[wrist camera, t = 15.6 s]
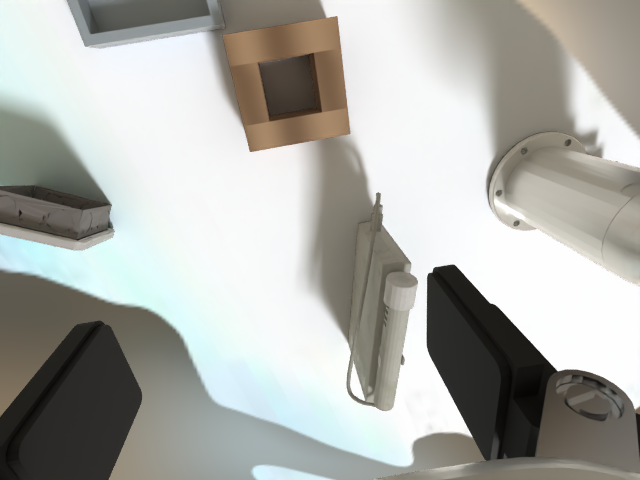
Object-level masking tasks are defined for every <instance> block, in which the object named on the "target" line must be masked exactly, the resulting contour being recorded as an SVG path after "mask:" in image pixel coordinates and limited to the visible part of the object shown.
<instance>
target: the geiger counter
mask: <svg viewBox="0 0 640 480" xmlns="http://www.w3.org/2000/svg"><path fill="white" fill-rule="evenodd" d="M380 198H381V194H380V193H376V203H375V205H374V208H373V213H372V217H371V221H368V222H363V223H358V230H357V242H356V254H355V266H354V278H353V291H352V303H351V315H350V327H349V339H348V344H349V347H350V351H351V356H350V361H349V367H348V373H347V390H348V393H349V395H350V397H351V398H352V399H354V400H355V401H357V402H358V403H361V404H363V405H368V406H373V407H376V408H378V409H380V410H382V411H389V410H391V409H392V408H393V406H394V400H395V394H396V388H397V382H398V376H399V370H400V364H401V365H404V361H405V359H404V357H403V354H402V352H403V346H404V341H405V335H406V329H407V323H408V317H409V311H410V309H412V308H413V306H414V301H415V296H416V290H417V284H418V281H417V278H416V277H414V276H413V275H411V274H410V269H411V262H410V261H409V260H408V258H407V257H406V256H405V254H404V253H403V252H402V250H401V249H400V248H399V246H398V245H397V244H396V242H395V241H394V240H393V238H392V237H391V236H390V234H389V233H388V232H387V230H386V229H385V228H384V226H383V225H382V218H383V214H382V207H383V206H382V205H380ZM353 361H354V364H355V367H356V371H357V374H358V377H359V381H360V384H361V387H362V391H363V394H364V398H365V401H366V402H365V401H363V400H360V399H359V398H357V397H356V396H354V395H353V393H352V392H351V388H350V378H351V371H352V365H353Z"/></svg>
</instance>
